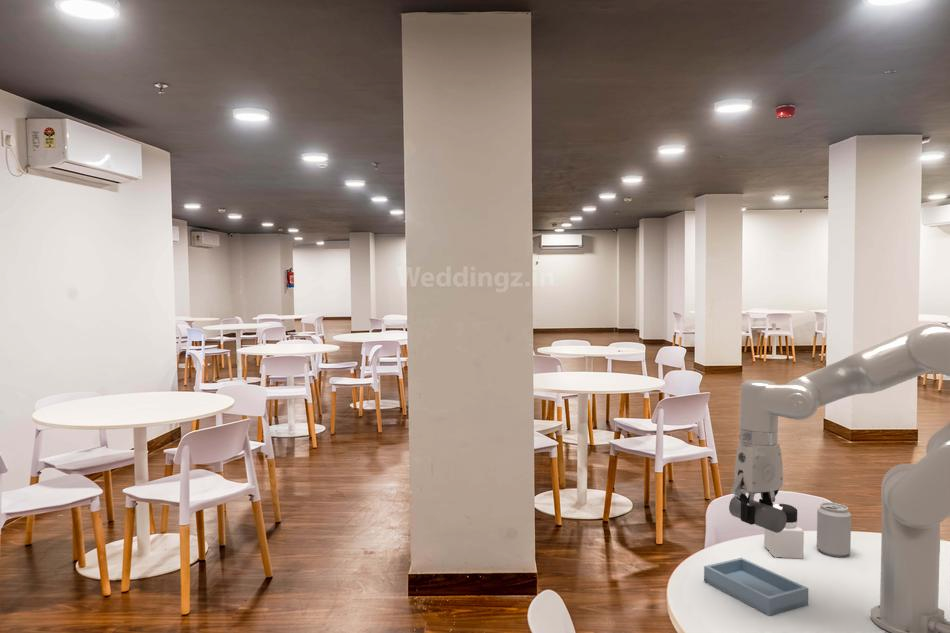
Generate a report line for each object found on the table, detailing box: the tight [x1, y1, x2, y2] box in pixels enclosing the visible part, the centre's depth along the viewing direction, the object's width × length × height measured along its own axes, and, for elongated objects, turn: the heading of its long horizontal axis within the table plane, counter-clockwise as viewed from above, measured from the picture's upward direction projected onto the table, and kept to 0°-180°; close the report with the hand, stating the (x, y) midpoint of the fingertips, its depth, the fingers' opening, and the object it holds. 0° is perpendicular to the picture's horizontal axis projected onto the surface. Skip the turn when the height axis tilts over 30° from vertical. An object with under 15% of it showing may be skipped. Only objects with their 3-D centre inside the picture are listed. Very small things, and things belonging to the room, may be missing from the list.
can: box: [816, 501, 852, 558], centre depth 164 cm, size 8×8×12 cm
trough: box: [703, 557, 809, 617], centre depth 141 cm, size 18×12×4 cm, turn 25°
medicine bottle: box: [763, 503, 805, 559], centre depth 163 cm, size 7×7×12 cm
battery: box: [728, 495, 787, 533], centre depth 141 cm, size 12×5×5 cm, turn 25°
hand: (756, 519), depth 140 cm, fingers closed on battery, 4 cm apart
